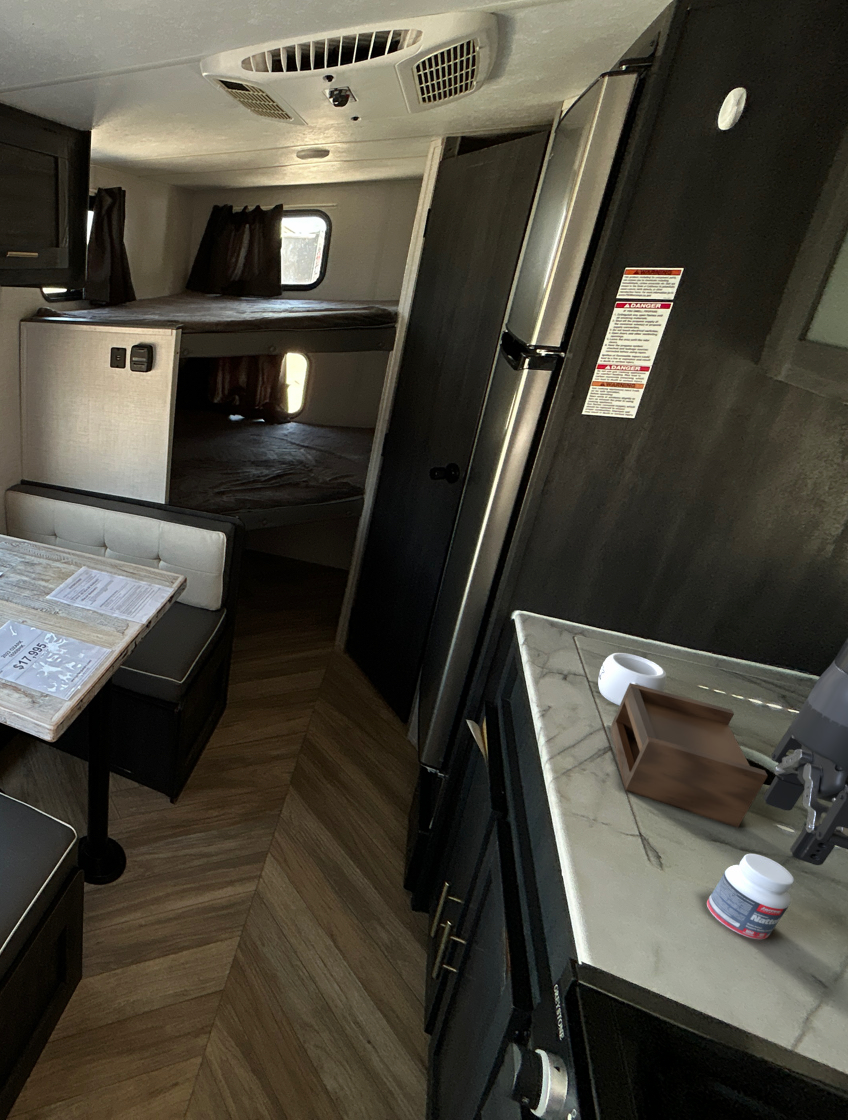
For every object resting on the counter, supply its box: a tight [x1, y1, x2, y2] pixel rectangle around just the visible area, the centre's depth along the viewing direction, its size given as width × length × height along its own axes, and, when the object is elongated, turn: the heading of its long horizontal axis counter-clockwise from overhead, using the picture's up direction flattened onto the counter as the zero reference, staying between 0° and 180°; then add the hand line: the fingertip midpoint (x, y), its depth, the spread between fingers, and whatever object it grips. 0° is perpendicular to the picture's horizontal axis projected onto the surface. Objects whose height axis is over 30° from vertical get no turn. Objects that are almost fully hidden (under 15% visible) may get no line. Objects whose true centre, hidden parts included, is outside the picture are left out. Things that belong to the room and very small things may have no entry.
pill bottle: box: [706, 853, 795, 940], centre depth 74 cm, size 5×5×9 cm
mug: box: [597, 652, 668, 706], centre depth 110 cm, size 12×8×8 cm
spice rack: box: [609, 683, 768, 829], centre depth 95 cm, size 12×16×10 cm
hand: (789, 831), depth 70 cm, fingers open, 8 cm apart
